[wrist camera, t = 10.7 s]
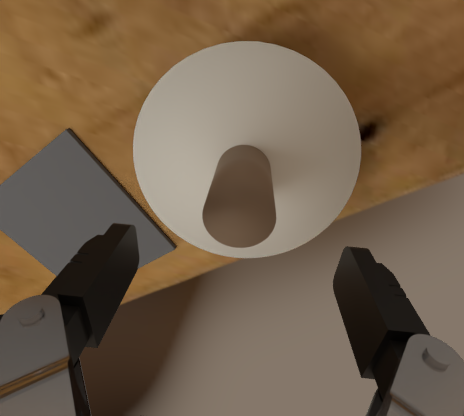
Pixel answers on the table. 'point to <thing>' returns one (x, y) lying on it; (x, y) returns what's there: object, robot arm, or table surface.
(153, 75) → the table surface
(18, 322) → the robot arm
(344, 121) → the lid
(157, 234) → the mat
